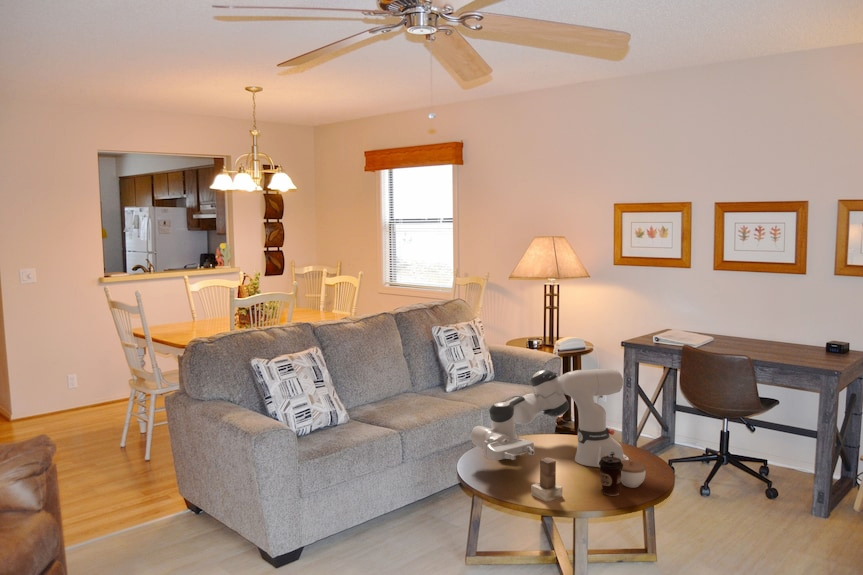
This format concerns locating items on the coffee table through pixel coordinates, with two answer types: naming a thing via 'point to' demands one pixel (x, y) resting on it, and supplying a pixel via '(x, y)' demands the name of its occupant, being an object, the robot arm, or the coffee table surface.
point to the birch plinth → (546, 492)
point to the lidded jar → (632, 473)
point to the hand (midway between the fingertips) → (524, 455)
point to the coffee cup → (610, 475)
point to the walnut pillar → (547, 473)
